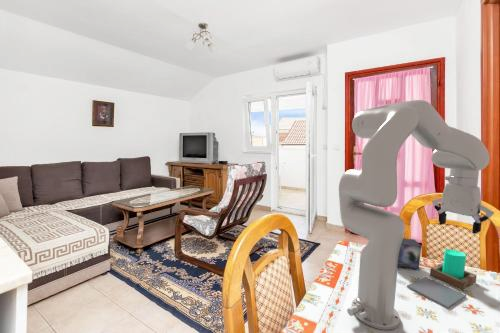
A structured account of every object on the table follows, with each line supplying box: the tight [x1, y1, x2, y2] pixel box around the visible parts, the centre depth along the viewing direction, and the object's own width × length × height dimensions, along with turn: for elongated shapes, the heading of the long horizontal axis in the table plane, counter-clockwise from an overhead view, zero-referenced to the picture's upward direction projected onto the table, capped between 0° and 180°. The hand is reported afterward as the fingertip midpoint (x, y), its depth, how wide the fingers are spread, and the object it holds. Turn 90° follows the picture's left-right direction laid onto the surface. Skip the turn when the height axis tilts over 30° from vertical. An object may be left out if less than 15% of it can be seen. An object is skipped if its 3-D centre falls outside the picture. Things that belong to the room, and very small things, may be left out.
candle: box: [442, 248, 467, 280], centre depth 88 cm, size 6×6×12 cm
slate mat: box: [406, 276, 467, 310], centre depth 81 cm, size 12×12×1 cm
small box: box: [397, 237, 422, 271], centre depth 98 cm, size 11×6×10 cm, turn 77°
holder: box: [429, 262, 478, 292], centre depth 88 cm, size 10×10×3 cm
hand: (458, 228), depth 86 cm, fingers open, 9 cm apart
